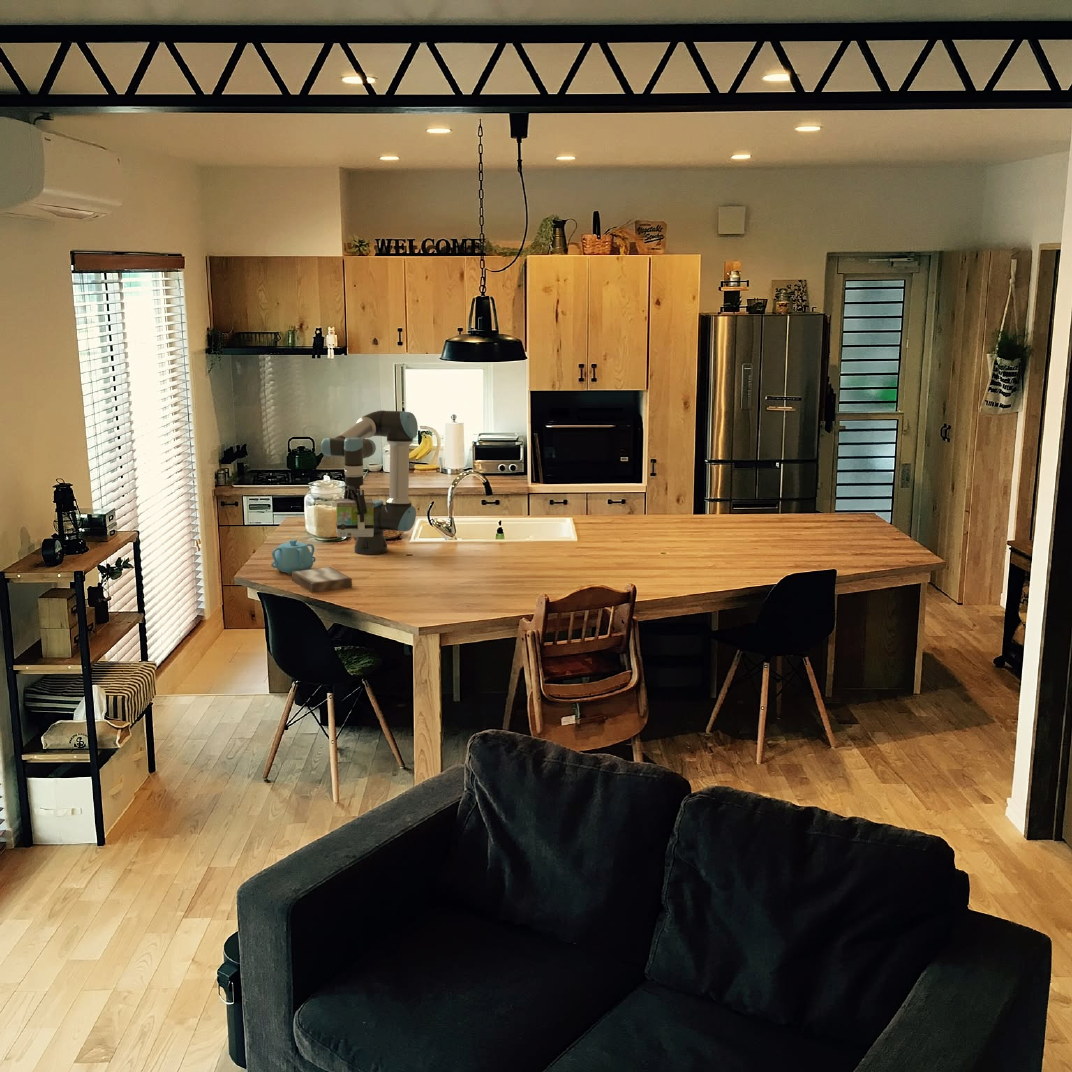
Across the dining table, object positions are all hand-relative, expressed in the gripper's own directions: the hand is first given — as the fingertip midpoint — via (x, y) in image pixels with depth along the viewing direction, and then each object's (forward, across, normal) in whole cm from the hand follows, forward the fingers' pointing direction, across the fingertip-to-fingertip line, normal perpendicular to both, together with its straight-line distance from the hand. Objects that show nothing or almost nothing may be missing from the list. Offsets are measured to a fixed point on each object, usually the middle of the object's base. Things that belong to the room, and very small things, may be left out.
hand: (354, 527), depth 473 cm
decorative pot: (+22, -23, -18) cm, 36 cm away
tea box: (+4, 0, 0) cm, 4 cm away
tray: (+22, +3, -17) cm, 27 cm away
